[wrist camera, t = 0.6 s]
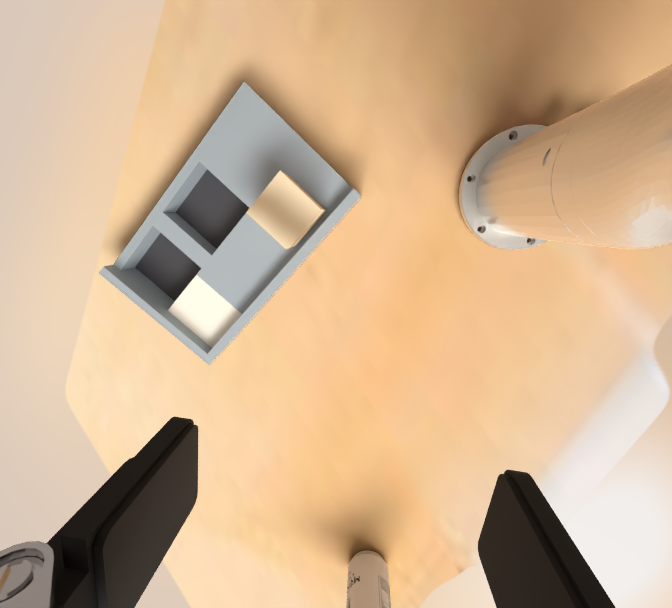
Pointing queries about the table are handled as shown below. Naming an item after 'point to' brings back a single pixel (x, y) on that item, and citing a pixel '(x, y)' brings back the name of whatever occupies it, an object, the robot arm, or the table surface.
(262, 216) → the maple cube
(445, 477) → the table surface
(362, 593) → the energy drink can
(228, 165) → the board
